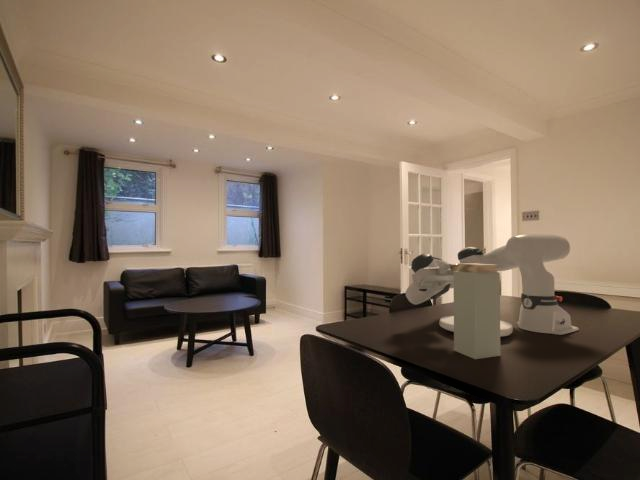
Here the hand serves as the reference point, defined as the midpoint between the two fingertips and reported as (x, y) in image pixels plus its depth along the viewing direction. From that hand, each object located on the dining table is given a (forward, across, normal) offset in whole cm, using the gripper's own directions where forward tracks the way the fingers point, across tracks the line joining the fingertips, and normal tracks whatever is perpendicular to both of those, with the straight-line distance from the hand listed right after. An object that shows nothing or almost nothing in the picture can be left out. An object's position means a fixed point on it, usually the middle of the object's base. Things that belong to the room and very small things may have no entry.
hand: (454, 265), depth 115 cm
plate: (-23, -19, -19) cm, 35 cm away
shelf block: (-5, 0, -29) cm, 29 cm away
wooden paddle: (+4, 0, -4) cm, 6 cm away
